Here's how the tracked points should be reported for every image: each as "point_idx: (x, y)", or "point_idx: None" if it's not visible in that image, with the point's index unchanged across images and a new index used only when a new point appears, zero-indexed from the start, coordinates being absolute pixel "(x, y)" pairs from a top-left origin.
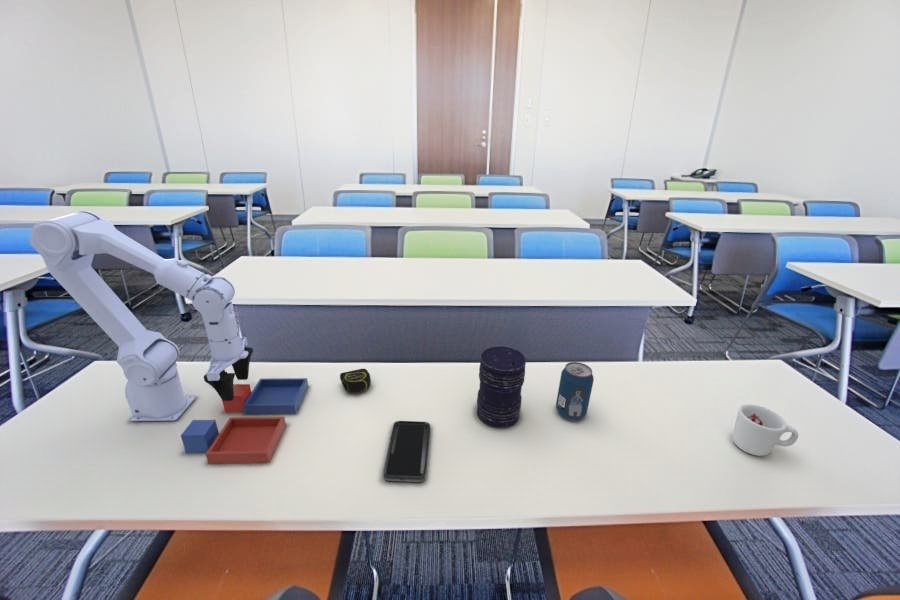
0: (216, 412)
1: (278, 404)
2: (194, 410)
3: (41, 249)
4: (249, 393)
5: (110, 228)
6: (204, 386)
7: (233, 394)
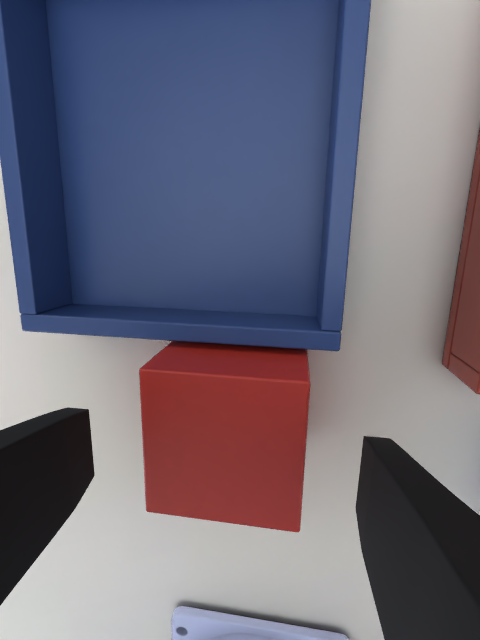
0: None
1: (357, 48)
2: (270, 581)
3: None
4: (195, 348)
5: None
6: (85, 589)
7: (389, 456)
